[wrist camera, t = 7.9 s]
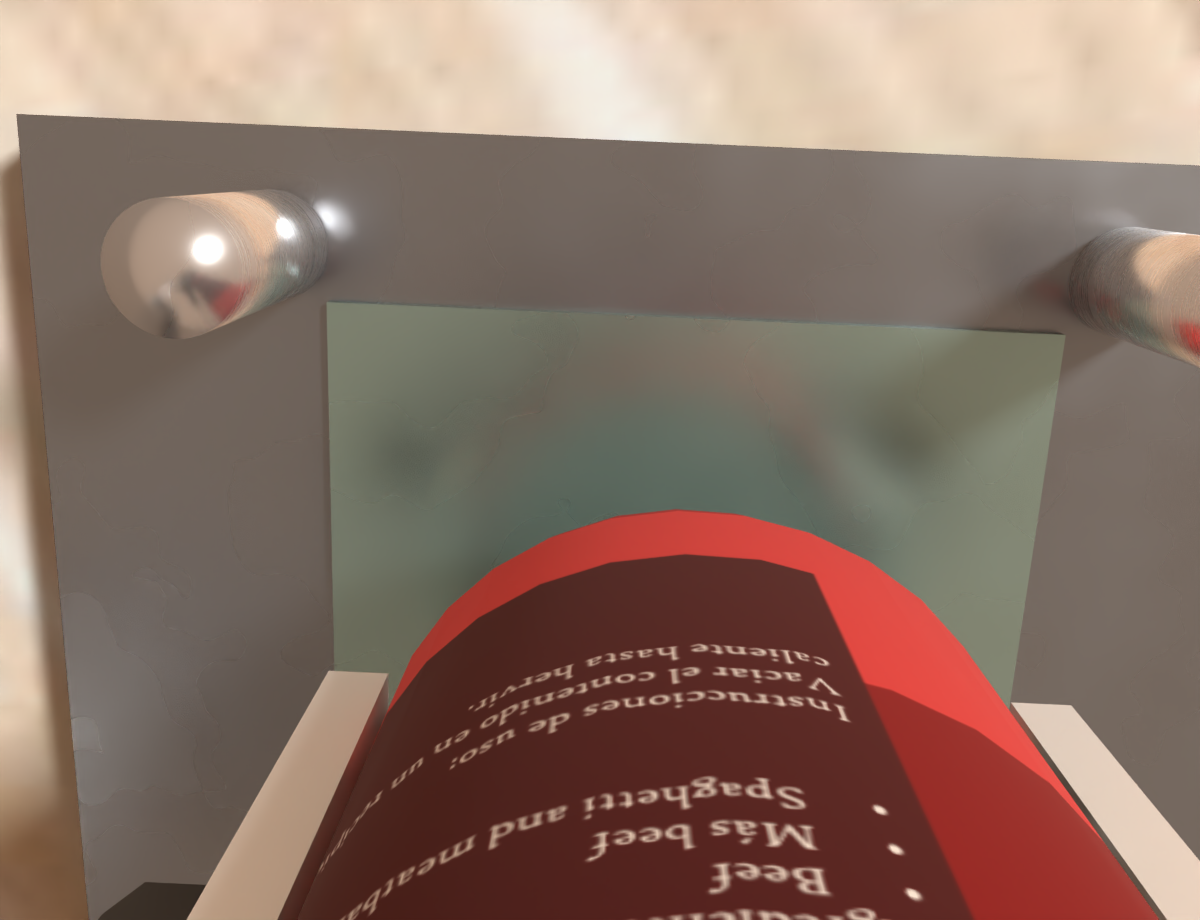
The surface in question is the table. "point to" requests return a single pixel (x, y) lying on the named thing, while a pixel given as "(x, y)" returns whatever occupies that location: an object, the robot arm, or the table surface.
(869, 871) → the canned food
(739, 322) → the plate
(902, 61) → the table surface
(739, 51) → the table surface
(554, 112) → the table surface
